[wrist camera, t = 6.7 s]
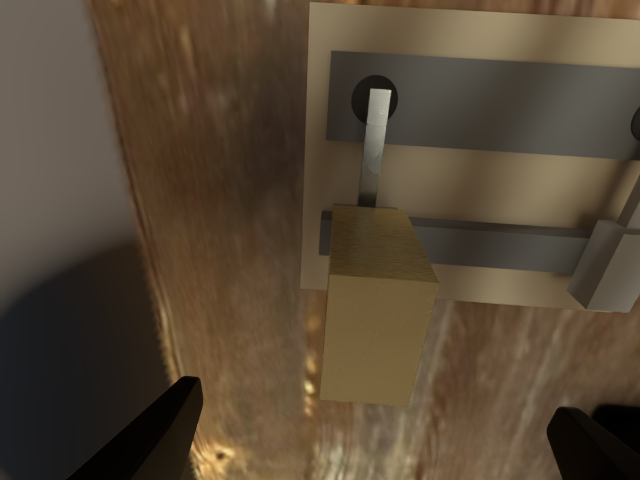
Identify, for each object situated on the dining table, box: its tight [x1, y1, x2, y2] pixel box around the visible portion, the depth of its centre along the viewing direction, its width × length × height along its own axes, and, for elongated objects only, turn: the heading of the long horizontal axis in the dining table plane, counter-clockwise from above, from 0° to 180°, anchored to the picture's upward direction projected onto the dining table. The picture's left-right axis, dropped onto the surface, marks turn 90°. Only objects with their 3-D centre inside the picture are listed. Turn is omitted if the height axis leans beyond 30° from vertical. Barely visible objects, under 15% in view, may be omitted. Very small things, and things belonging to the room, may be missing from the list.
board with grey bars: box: [300, 2, 640, 313], centre depth 16 cm, size 18×14×4 cm
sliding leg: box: [320, 88, 439, 407], centre depth 13 cm, size 3×10×8 cm, turn 177°
